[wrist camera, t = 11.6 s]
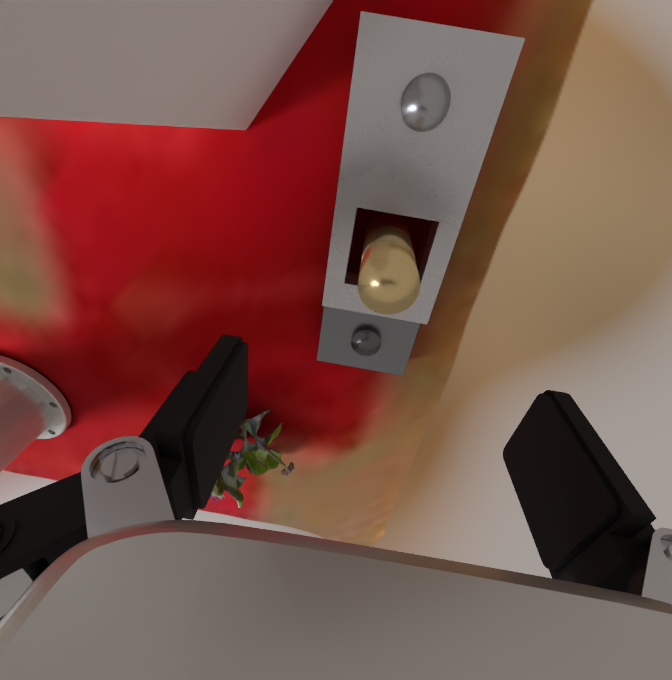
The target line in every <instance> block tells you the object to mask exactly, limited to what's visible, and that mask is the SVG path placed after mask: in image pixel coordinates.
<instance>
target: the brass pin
mask: <svg viewBox="0 0 672 680" xmlns="http://www.w3.org/2000/svg"><path fill="white" fill-rule="evenodd" d="M419 292H420V278H419V274H418V269H417V265H416V260H415V256H414V251H413V247H412V242H411V238H410V233H409V229H408V226H407V224H406V222H405V221H404V219H402V218H401V217H400V216H398V215H396V214H392V213H384V214H380V215H378V216H376V217H375V218H373V219H372V220H371V221H370V223H369V224H368V226H367V228H366V232H365V238H364V245H363V252H362V259H361V266H360V273H359V280H358V293H359V296H360V298H361V300H362V302H363V303H364V304H365V305H366V307H368V308H369V309H370V310H372V311H374V312H376V313H379V314H386V315H391V314H397V313H400V312H402V311H404V310H406V309H408V308H409V307H410V306H411V305H412V304H413V303H414V302H415V301H416V299H417V297H418V295H419Z"/></svg>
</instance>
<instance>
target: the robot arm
mask: <svg viewBox="0 0 672 680" xmlns="http://www.w3.org/2000/svg"><path fill="white" fill-rule="evenodd" d="M247 408H248V344H247V343H245V342H242V338H241V337H237V336H231V335H225V334H224V335H222V336H221V337H220V339H219V340H218V341H217V343H216V344H215V346H214V347H213V349H212V350H211V351H210V353H209V354H208V356H207V357H206V359H205V360H204V361H203V363H202V364H201V366H200V367H199V369H198V370H197V371H188V372H187V373H186V374H185V375H184V376H183V377H182V379H181V380H180V381H179V383H178V384H177V386H176V387H175V388H174V390H173V391H172V392H171V394H170V395H169V396H168V398H167V399H166V400H165V402H164V403H163V404H162V406H161V407H160V409H159V410H158V411H157V413H156V414H155V415H154V417H153V418H152V419H151V421H150V422H149V423H148V425H147V426H146V427H145V429H144V430H143V432H142V433H141V434H140V436H139V437H136V436H125V437H120V438H116V439H113V440H110V441H108V442H106V443H103V444H102V445H100V446H99V447H97V448H96V449H94V450H93V451H92V452H91V454H90V455H89V456H88V457H87V458H86V460H85V461H84V463H83V465H82V470H81V472H79V473H77V474H74V475H72V476H69V477H67V478H65V479H62V480H60V481H57V482H55V483H52V484H50V485H47V486H45V487H43V488H40V489H38V490H35V491H33V492H30V493H28V494H26V495H23V496H21V497H18V498H16V499H14V500H11V501H8V502H6V503H3V504H1V505H0V680H672V529H668V528H660V529H657V530H654V528H653V527H652V525H651V524H650V523H651V522H653V521H654V520H655V519H656V517H655V516H654V514H653V513H652V511H651V510H650V509H649V507H648V506H647V504H646V503H645V501H644V500H643V499H642V497H641V496H640V495H639V493H638V491H637V490H636V489H635V487H634V486H633V484H632V483H631V481H630V480H629V479H628V477H627V476H626V474H625V473H624V471H623V470H622V469H621V467H620V466H619V465H618V463H617V461H616V460H615V459H614V457H613V456H612V454H611V453H610V452H609V450H608V448H607V447H606V446H605V444H604V443H603V441H602V440H601V438H600V437H599V436H598V434H597V433H596V431H595V430H594V428H593V427H592V426H591V424H590V423H589V421H588V420H587V418H586V417H585V416H584V414H583V413H582V411H581V410H580V408H579V407H578V406H577V404H576V403H575V401H574V400H573V398H572V397H571V396H570V395H569V394H567V393H563V392H557V391H551V390H547V391H545V392H544V393H543V394H539V395H538V396H537V397H536V399H535V400H534V402H533V403H532V405H531V407H530V408H529V410H528V411H527V413H526V415H525V416H524V418H523V419H522V421H521V423H520V424H519V425H518V427H517V429H516V430H515V432H514V433H513V435H512V436H511V438H510V440H509V441H508V443H507V444H506V446H505V448H504V451H503V458H504V461H505V464H506V467H507V469H508V472H509V475H510V477H511V480H512V483H513V485H514V488H515V491H516V493H517V496H518V499H519V501H520V504H521V507H522V509H523V512H524V515H525V517H526V520H527V523H528V525H529V528H530V531H531V533H532V536H533V539H534V541H535V544H536V547H537V549H538V552H539V555H540V557H541V560H542V562H543V564H544V566H545V567H546V568H548V569H549V571H550V573H551V576H552V579H551V578H545V577H540V576H534V575H529V574H523V573H518V572H512V571H507V570H501V569H495V568H490V567H484V566H478V565H473V564H467V563H461V562H455V561H449V560H444V559H438V558H432V557H426V556H421V555H415V554H409V553H404V552H397V551H392V550H386V549H380V548H375V547H369V546H363V545H357V544H351V543H345V542H339V541H333V540H327V539H321V538H315V537H309V536H303V535H297V534H291V533H285V532H279V531H272V530H265V529H259V528H252V527H245V526H239V525H232V524H225V523H215V522H206V521H195V520H193V519H194V517H195V514H196V512H197V510H198V508H201V509H204V508H205V506H206V504H207V502H208V500H209V498H210V495H211V493H212V491H213V488H214V486H215V484H216V481H217V479H218V477H219V475H220V472H221V470H222V468H223V465H224V463H225V461H226V458H227V456H228V454H229V452H230V449H231V447H232V445H233V442H234V440H235V438H236V435H237V433H238V431H239V429H240V426H241V424H242V422H243V419H244V417H245V415H246V412H247ZM71 416H72V415H71V411H70V407H69V405H68V403H67V401H66V399H65V398H64V396H63V395H62V394H61V392H60V391H59V390H58V389H57V388H56V387H55V386H54V385H53V384H52V383H51V382H50V381H49V380H47V379H46V378H45V377H44V376H42V375H41V374H39V373H38V372H36V371H35V370H33V369H32V368H30V367H28V366H26V365H25V364H22V363H20V362H18V361H16V360H13V359H11V358H8V357H4V356H1V355H0V472H1V471H2V470H3V469H4V468H5V467H6V466H7V465H8V464H10V463H11V462H12V461H13V460H14V459H15V458H17V456H18V455H19V454H20V453H21V452H22V451H23V450H24V449H25V448H27V447H28V446H29V445H30V444H31V443H32V442H33V441H34V440H35V439H48V438H53V437H57V436H58V435H60V434H62V433H63V432H64V431H65V430H66V428H67V427H68V426H69V425H70V423H71ZM182 518H186V519H192V520H182Z"/></svg>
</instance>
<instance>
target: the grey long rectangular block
mask: <svg viewBox="0 0 672 680" xmlns="http://www.w3.org/2000/svg"><path fill="white" fill-rule="evenodd" d="M524 41H525V38H521V37H515V36H509V35H503V34H497V33H491V32H485V31H479V30H473V29H467V28H461V27H455V26H448V25H442V24H436V23H430V22H424V21H418V20H412V19H406V18H400V17H394V16H388V15H382V14H376V13H370V12H364V11H361V14H360V21H359V29H358V37H357V44H356V52H355V59H354V67H353V74H352V82H351V90H350V97H349V105H348V112H347V120H346V127H345V135H344V143H343V150H342V158H341V165H340V173H339V180H338V188H337V196H336V203H335V211H334V218H333V226H332V234H331V241H330V249H329V256H328V264H327V271H326V279H325V287H324V294H323V302H322V306H324V310H323V318H322V325H321V332H320V340H319V347H318V354H317V360H318V361H324V362H329V363H335V364H340V365H346V366H351V367H357V368H362V369H368V370H373V371H379V372H384V373H390V374H395V375H401V376H403V375H404V372H405V369H406V366H407V362H408V359H409V356H410V353H411V350H412V347H413V344H414V341H415V338H416V335H417V332H418V329H419V326H420V323H421V324H428V321H429V318H430V315H431V312H432V309H433V306H434V303H435V300H436V298H437V295H438V292H439V289H440V286H441V283H442V280H443V277H444V274H445V271H446V268H447V265H448V262H449V260H450V257H451V254H452V251H453V248H454V245H455V242H456V239H457V236H458V233H459V230H460V227H461V225H462V222H463V219H464V216H465V213H466V210H467V207H468V204H469V201H470V198H471V195H472V192H473V189H474V187H475V184H476V181H477V178H478V175H479V172H480V169H481V166H482V163H483V160H484V157H485V154H486V152H487V149H488V146H489V143H490V140H491V137H492V134H493V131H494V128H495V125H496V122H497V119H498V116H499V114H500V111H501V108H502V105H503V102H504V99H505V96H506V93H507V90H508V87H509V84H510V81H511V79H512V76H513V73H514V70H515V67H516V64H517V61H518V58H519V55H520V52H521V49H522V46H523V43H524ZM358 208H363V209H369V210H375V211H380V212H386V213H392V214H398V215H403V216H409V217H415V218H421V219H426V220H428V221H427V224H426V228H425V231H424V235H423V238H422V242H421V245H420V249H419V252H418V256H417V259H416V265H417V269H418V274H419V278H420V292H419V295H418V297H417V299H416V301H415V302H414V303H413V304H412V305H411V306H410V307H409V308H408V309H406V310H404V311H402V312H400V313H397V314H391V315H386V314H379V313H376V312H374V311H372V310H370V309H369V308H368V307H366V305H365V304H364V303H363V302H362V300H361V298H360V296H359V293H358V280H359V273H360V266H361V264H357V263H351V262H349V259H350V253H351V247H352V241H353V235H354V229H355V223H356V217H357V211H358Z"/></svg>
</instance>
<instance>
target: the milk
mask: <svg viewBox="0 0 672 680" xmlns="http://www.w3.org/2000/svg"><path fill="white" fill-rule="evenodd" d="M332 2H333V0H0V116H3V117H20V118H38V119H55V120H73V121H91V122H108V123H126V124H143V125H161V126H178V127H196V128H214V129H231V130H247V128H248V127H249V125H250V124H251V122H252V121H253V119H254V118H255V117H256V115H257V114H258V112H259V111H260V109H261V108H262V106H263V105H264V103H265V102H266V100H267V99H268V97H269V96H270V94H271V93H272V91H273V90H274V88H275V87H276V85H277V84H278V82H279V81H280V79H281V78H282V76H283V75H284V73H285V72H286V70H287V69H288V67H289V66H290V64H291V63H292V61H293V60H294V58H295V57H296V55H297V54H298V52H299V51H300V49H301V48H302V46H303V45H304V43H305V42H306V40H307V39H308V37H309V36H310V35H311V33H312V32H313V30H314V29H315V27H316V26H317V24H318V23H319V21H320V20H321V18H322V17H323V15H324V14H325V12H326V11H327V9H328V8H329V6H330V5H331V3H332Z"/></svg>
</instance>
